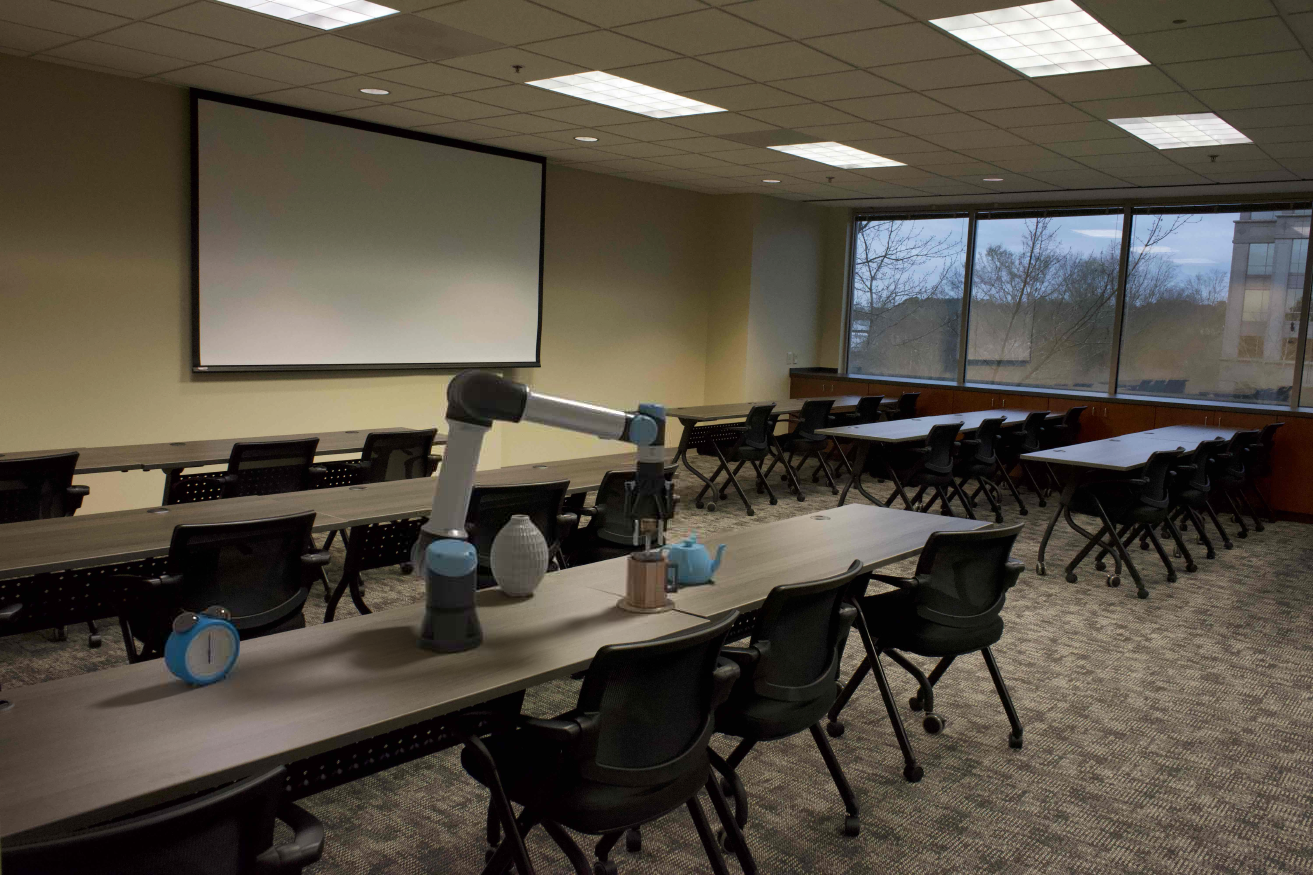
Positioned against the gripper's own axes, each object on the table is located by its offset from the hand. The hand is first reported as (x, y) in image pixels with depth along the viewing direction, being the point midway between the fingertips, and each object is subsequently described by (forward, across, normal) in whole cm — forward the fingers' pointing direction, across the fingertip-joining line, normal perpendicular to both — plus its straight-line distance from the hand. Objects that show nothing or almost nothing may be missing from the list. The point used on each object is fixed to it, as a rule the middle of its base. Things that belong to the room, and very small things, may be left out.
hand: (648, 543), depth 254 cm
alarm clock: (+17, -101, -47) cm, 113 cm away
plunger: (+13, 0, 0) cm, 13 cm away
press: (+17, 0, 0) cm, 17 cm away
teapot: (+17, +19, +27) cm, 37 cm away
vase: (+17, -34, +15) cm, 41 cm away
